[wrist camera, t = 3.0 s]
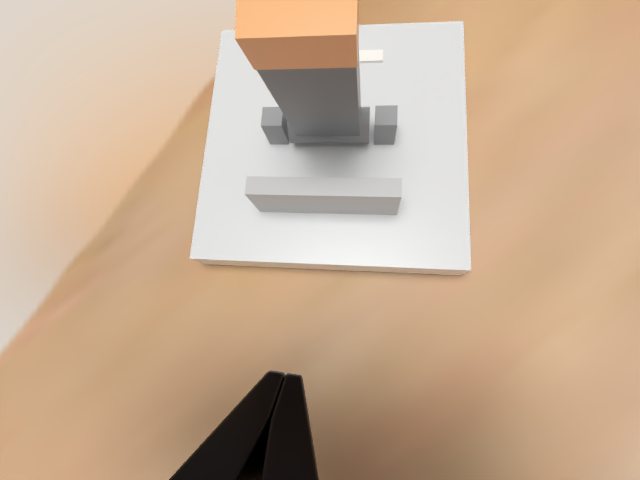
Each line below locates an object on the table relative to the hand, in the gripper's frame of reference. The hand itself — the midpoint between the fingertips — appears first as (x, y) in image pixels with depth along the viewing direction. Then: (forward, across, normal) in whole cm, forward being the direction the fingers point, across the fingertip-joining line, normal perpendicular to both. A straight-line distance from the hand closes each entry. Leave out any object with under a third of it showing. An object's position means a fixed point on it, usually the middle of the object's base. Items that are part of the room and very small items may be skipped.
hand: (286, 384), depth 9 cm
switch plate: (+18, +1, -1) cm, 18 cm away
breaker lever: (+16, +1, -3) cm, 16 cm away
